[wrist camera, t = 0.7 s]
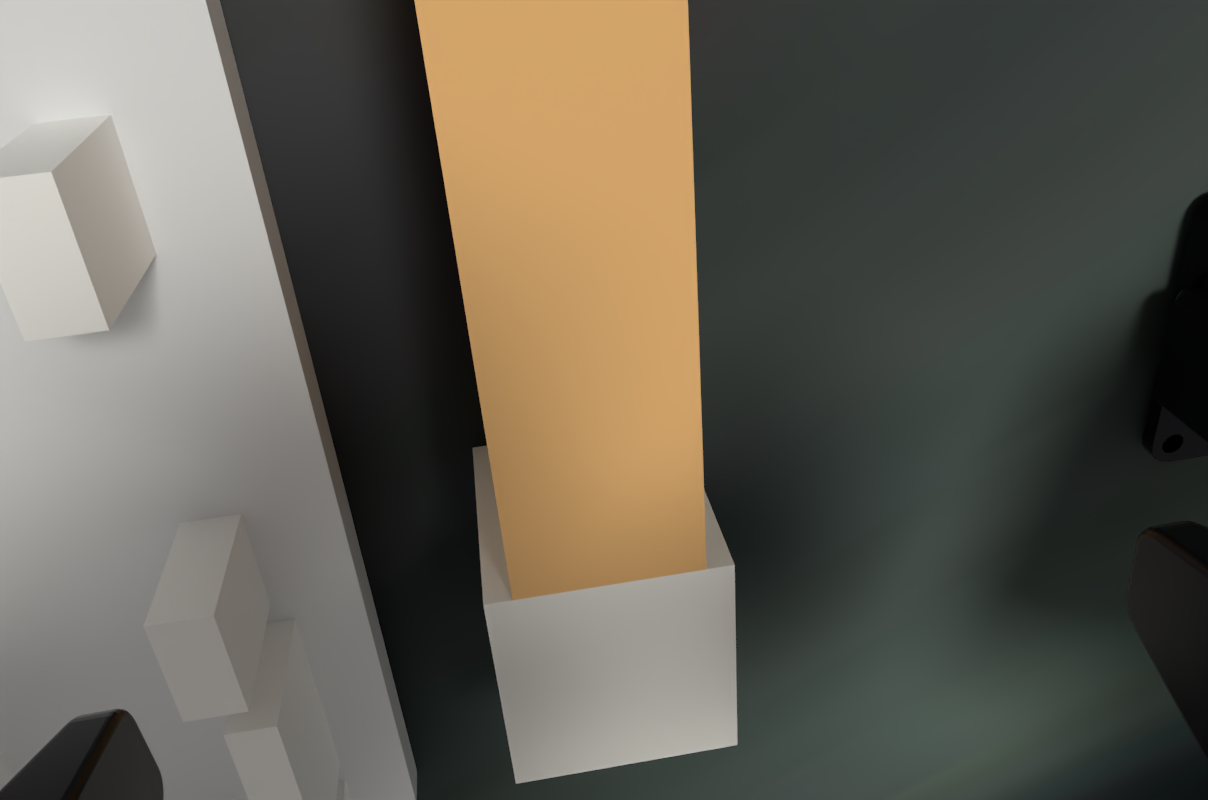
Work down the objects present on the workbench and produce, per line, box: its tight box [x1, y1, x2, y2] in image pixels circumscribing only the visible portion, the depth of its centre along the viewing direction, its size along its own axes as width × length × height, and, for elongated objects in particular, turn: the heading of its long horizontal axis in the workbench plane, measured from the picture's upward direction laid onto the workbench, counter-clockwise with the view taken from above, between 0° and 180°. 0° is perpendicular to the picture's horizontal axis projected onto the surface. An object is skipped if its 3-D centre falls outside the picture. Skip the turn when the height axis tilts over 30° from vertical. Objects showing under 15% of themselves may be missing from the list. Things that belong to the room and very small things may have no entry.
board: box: [0, 0, 417, 800], centre depth 19 cm, size 11×20×4 cm, turn 5°
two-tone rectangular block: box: [414, 0, 737, 784], centre depth 18 cm, size 4×16×5 cm, turn 4°
